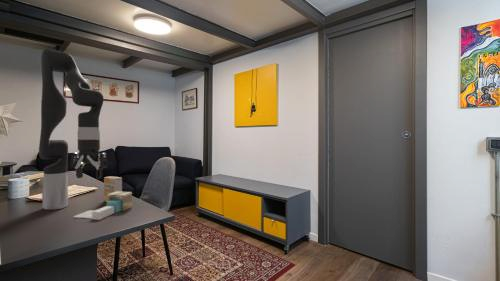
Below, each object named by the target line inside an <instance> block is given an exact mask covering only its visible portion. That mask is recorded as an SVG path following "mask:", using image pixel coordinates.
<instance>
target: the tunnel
mask: <svg viewBox="0 0 500 281" xmlns="http://www.w3.org/2000/svg"><path fill="white" fill-rule="evenodd" d="M118 197H122V210H121V211H124V212H125V211H126V210H129V209H131V208H133V199H132V198H133V192H132V191H122V192H118V191H116V192H113V193H110V194H108V201H110V200H112V199H118Z"/></svg>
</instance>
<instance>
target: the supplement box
mask: <svg viewBox="0 0 500 281" xmlns="http://www.w3.org/2000/svg"><path fill="white" fill-rule="evenodd" d="M116 191H118V192H123V177H121V176H120V177H119V176H113V175H112V176H111V175H110V176H105V177H103V201H104V202H106V203H107V201H108V194H110V193H113V192H116ZM118 199H122V197H118Z"/></svg>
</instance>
